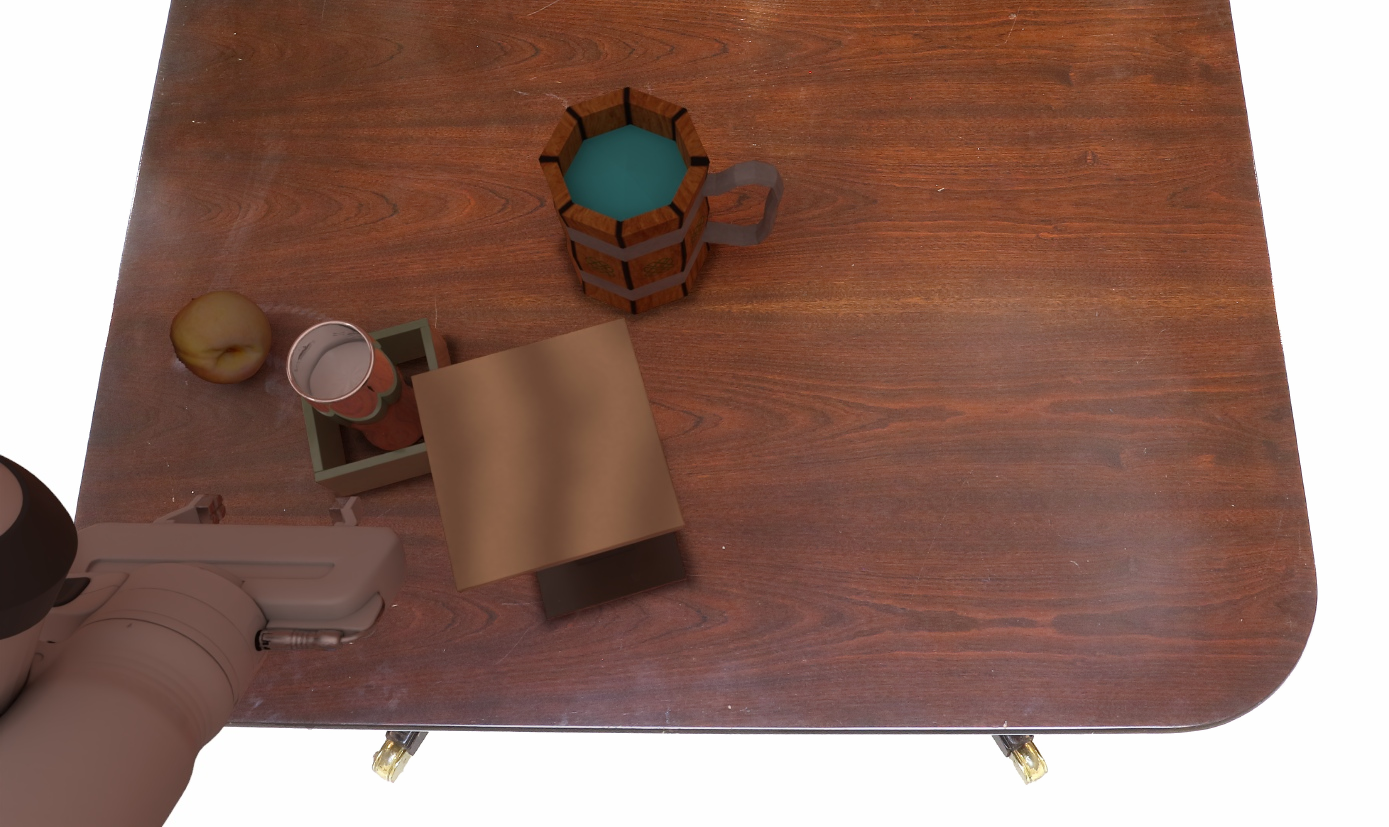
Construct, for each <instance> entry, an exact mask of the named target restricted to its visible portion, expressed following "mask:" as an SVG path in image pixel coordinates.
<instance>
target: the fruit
mask: <svg viewBox="0 0 1389 827" xmlns="http://www.w3.org/2000/svg"><path fill="white" fill-rule="evenodd" d="M169 330H170V331H169V339H170V341H171V343H172V344H171V345H172V347H173V350H174V353H175V356H176V359H177V360H178V362H180V363H181V364H183V365H184V366H185V367H184V368H185V369H187V370H189V371H190V372H191V373H192V374H193V375H195V376H196V377H198V378H199V379H201V380H203V381H206V382H207V383H210V384H211V383H212V384H215V385H234V384H238V383H241V382H243V381H245V380H247V379H249V378H251V377H253V376H254V375H255V374H256V373H258V371H259V370H260V369H261V368H262V366H263V365H264V363H265V361H266V359H267V357H268V355H269V352H270V350H271V346H272V330H271V324H270V322H269V319H268V317H267V316H266V314H265V312H264V310H263V309H262V308H261V307H260V306H259V305H258V304H257V303H256V301H255V302H254V300H252V299H251V298H249V297H247V296H245V295H244V294H241V293H240V292H239V293H238V292H235V291H230V290H214V291H210V292H207V293H204V294H202V295H200V296H198V297H195V298H193V297H192V298H191V300H190V301H189V302H188V303H187V304H186V305H184V306H183V307H182V308H180V309H179V311H177V313H176V314H175V315H174V317H173V318H172V321H171V325H170V329H169Z"/></svg>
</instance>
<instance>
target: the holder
mask: <svg viewBox="0 0 1389 827" xmlns="http://www.w3.org/2000/svg"><path fill="white" fill-rule="evenodd" d="M366 333H367V334H369V335H370V336H371V337H372V338H374V339H375V340H376V341H377V342H379V343H380V344H381V345H382V346H383V347H384V348H385V349H386V350H387V351H388V353H389V354H390V355H391V356H392V357H393V359H394V360H395V362H396V364H397V365H399V364H402V363H405V362H410V361H413V360H416V359H420V358H423V357H425V358H426V361H427V366H428V371H432V370H435V369H439V368H443V367H446V366H450V365H452V362H451V356H450V352H449V348H448V345H447V341H446V340H445V339H444V338H443V336H442V335H441V334H440V332H439V331H438V329H437V328H436V327H435V325H434V324H433V323H432V321H431V320H430V319H429V318H428V317H427V316H425V317H423V318H419V319H415V320H412V321H408V322H404V323H401V324H397V325H394V326H389V327H386V328H383V329H378V330H373V331H371V332H366ZM299 395H300V394H299ZM300 401H301V406H302V412H303V418H304V424H305V428H306V435H307V441H308V445H309V446H308V447H309V453H310V458H311V464H312V470H313V475H314V482H315V483H316V484H318V485H320V486H321V487H323V488H326V489H327V490H329V491H331V492H333V493H335V494H337V495H339V496H340V497H348V496H354V495H356V494H360V493H362V492H367V491H370V490H374V489H377V488H381V487H385V486H388V485H392V484H394V483H398V482H402V481H405V480H410V479H413V478H416V477H419V476H423V475H426V474H432V473H431V468H430V464H429V459H428V454H427V450H426V445H425V441H424V442H420V443H416V444H412V445H411V446H409V447H406V448H403V449H399V450H391V451H388V452H385V453H381V454H377V455H374V456H371V457H370V456H369V457H367V458H363V459H360V460H356V461H353V462H349V463H347V460H346V454H345V450H344V444H343V438H342V433H341V428H340V424H339V423H336V422H334V421H332V420H330V419H329V418H327V417H326V416H324V415H322V414H321V413H320V412H318V411H317V410H316V409H315V408H314V407H312V406H311V405H310V404H309V403H308V402H307V401H306V400H305V399H304V398H303V397H302V396H301V395H300Z"/></svg>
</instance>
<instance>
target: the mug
mask: <svg viewBox="0 0 1389 827" xmlns="http://www.w3.org/2000/svg"><path fill="white" fill-rule="evenodd" d="M538 163H539V165H540V168H541V170H542V172H543V176H544V179H545V180H546V183H547V186H548V187H549V191H550V193H551V196H552V201H553V208H554V210H555V214H556V216H557V218H558V221H559V223H560V226H561V229H562V232H563V234H564V237H565V247H566V249H567V252H568V256H569V258H570V260H571V263H572V266H573V268H574V271H575V274H576V276H577V278H578V281H579V284H580V287H581V289H582V293H583V294H584V295H586V296H588V297H591V298H593V299H596V300H599V301H600V302H603V303H606V304H608V305H610V306H613V307H614V308H615V307H616V308H618V309H620V310H623V311H625V312H627V313H630V314H632V315H638V314H641V313H643V312H646V311H649V310H652V309H654V308H657V307H660V306H663V305H666V304H668V303H671V302H674V301H677V300H679V299H682V298H686V297H687V296H688V295H689V293H690V291H691V289H692V288H693V285H694V283H695V281H696V279H697V277H698V275H699V272H700V271H701V268H702V266H703V265H704V263H705V260H706V258H707V256H708V254H709V252H710V250H711V248H710V244H719V245H729V246H735V247H741V248H745V247H751V246H757V245H760V244H762V243H763V242H764V241H766V240H767V239H768V238H769V237H770V236H772V234H773V231H774V228H775V224H776V221H777V216H778V211H779V207H780V204H781V202H782V199H783V196H784V192H785V185H784V180H783V179H782V178H783V177H782V176H781V174H780V172H779V170H778V168H777V166H776V165H775V164H772V163H767V162H764V161H760V160H756V159H752V160H747V161H743V162H738V163H735V164H734V165H731V166H730V167H728V168H726V169H724V170H722V171H719V172H709V167H710V164H711V161H710V159H709V156H708V154H707V151H706V149H705V147H704V144H703V142H702V140H701V138H700V136H699V133H698V131H697V129H696V127H695V124H694V122H693V120H692V117H691V115H690V112H689V110H688V109H687V108H686V107H683V106H680V105H678V104H675V103H672V102H670V101H667V100H665V99H662V98H659V97H656V96H654V95H652V94H648V93H646V92H643V91H640V90H638V89H635V88H632V87H631V86H626V87H623V88H620V89H617V90H614V91H611V92H607V93H605V94H602V95H600V96H599V95H598V96H596V97H593V98H590V99H588V100H587V99H586V100H583V101H581V102H579V103H576V104H573V105H569V106H567V107H566V108H565V111H564V112H563V114H562V116H561V118H560V120H559V121H558V123H557V125H556V127H555V128H554V130H553V132H552V134H551V136H550V137H549V138H548V140H547V143H546V144H545V147H544V148H543V149H542V151H541V153H540V155H539V157H538ZM750 185H759V186H763V187H766V188H769V191H768V193H767V196H766V199H765V202H764V209H763V216H762V219H760V220H759V221H758V222H757V223H751V224H746V225H743V224H735V223H730V222H721V221H710V220H709V215H710V211H711V208H710V203H709V198H708V197H718V196H721V195H724V194H726V193H728V192H731V191H733V190H734V189H736V188H738V187H739V188H740V187H743V186H750Z"/></svg>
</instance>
